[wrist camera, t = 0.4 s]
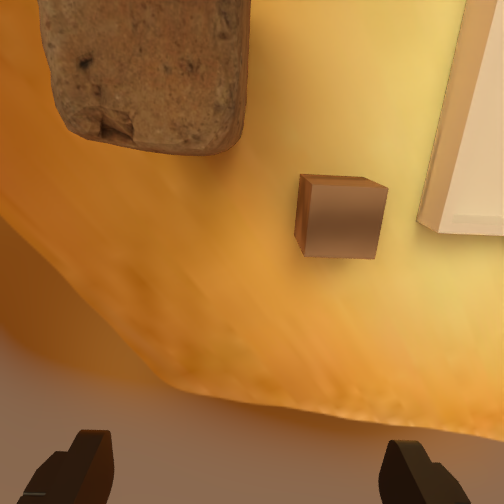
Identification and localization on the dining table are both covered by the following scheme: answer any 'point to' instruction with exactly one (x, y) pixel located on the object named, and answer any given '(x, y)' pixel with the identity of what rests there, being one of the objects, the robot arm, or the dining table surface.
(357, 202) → the cube
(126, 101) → the block
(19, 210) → the dining table surface
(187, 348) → the dining table surface
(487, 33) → the tray
